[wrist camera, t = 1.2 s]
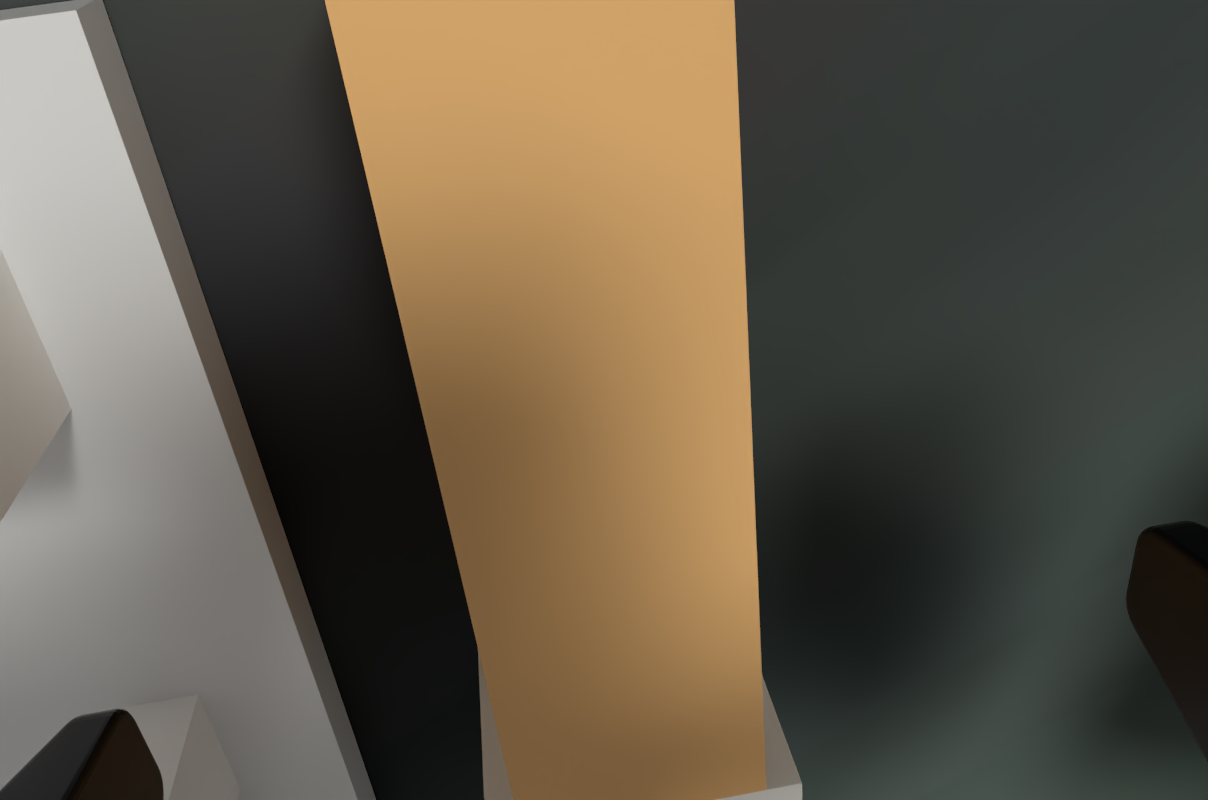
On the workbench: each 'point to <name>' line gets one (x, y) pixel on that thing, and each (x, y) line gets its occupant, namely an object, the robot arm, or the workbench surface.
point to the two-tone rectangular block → (581, 375)
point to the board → (135, 461)
